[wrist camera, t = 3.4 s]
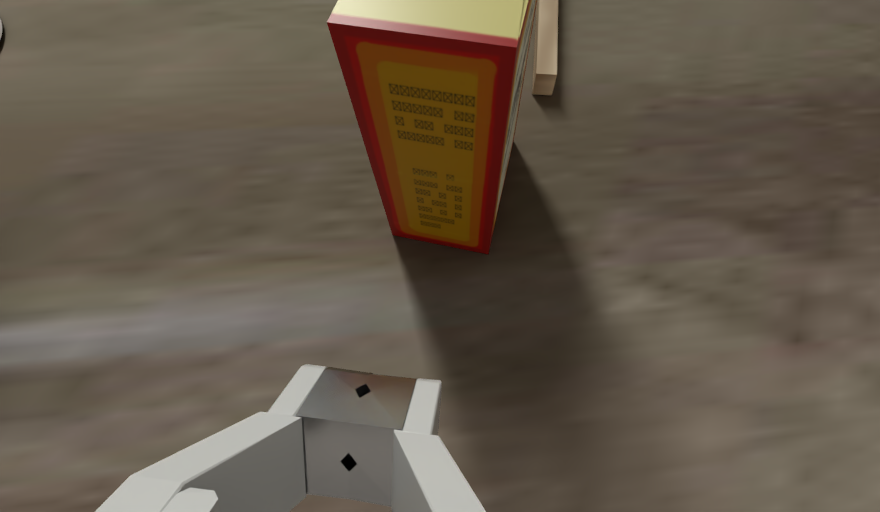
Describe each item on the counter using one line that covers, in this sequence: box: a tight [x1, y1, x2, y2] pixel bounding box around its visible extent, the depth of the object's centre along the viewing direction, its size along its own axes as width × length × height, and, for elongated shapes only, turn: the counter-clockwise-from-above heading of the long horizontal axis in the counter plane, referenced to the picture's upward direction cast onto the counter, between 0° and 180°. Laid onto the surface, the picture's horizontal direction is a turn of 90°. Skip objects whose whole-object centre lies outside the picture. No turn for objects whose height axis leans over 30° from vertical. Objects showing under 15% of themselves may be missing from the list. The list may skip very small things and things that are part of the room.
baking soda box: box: [327, 0, 537, 254], centre depth 23 cm, size 10×6×16 cm
